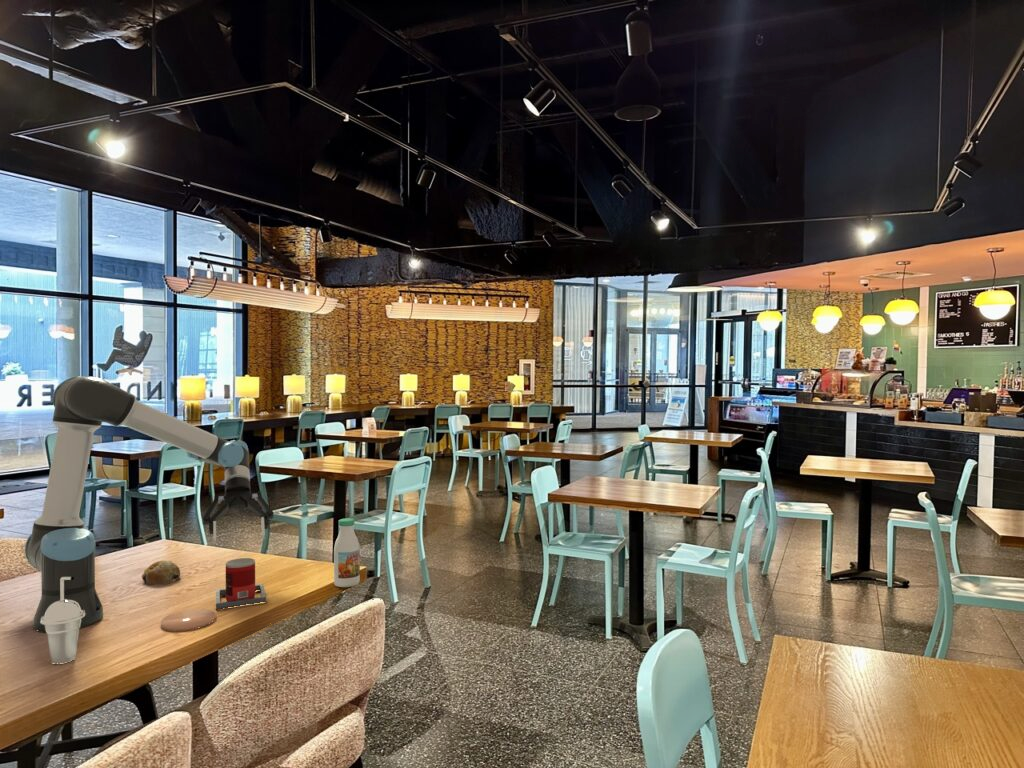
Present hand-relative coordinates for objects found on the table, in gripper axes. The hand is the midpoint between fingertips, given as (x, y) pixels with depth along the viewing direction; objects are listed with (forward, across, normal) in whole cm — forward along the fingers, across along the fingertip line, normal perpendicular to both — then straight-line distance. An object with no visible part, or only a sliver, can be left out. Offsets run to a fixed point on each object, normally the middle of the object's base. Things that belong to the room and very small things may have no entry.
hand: (239, 539), depth 199 cm
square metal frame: (+18, 0, -3) cm, 18 cm away
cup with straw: (+38, +38, +16) cm, 56 cm away
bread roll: (-3, +22, -24) cm, 33 cm away
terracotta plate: (+27, +13, +6) cm, 31 cm away
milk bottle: (+17, -30, -4) cm, 35 cm away
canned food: (+18, 0, -3) cm, 18 cm away
